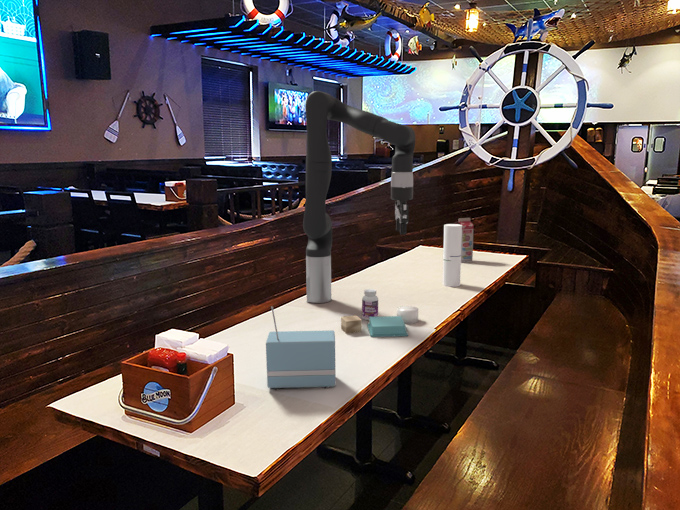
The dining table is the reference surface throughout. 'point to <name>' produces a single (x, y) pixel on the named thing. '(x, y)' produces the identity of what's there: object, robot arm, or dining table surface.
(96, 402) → the dining table surface
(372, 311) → the pill bottle
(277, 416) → the dining table surface
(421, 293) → the dining table surface
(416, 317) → the white rounded puck
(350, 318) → the tan square block
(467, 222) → the juice carton
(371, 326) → the podium
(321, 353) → the radio
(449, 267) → the cylindrical container
